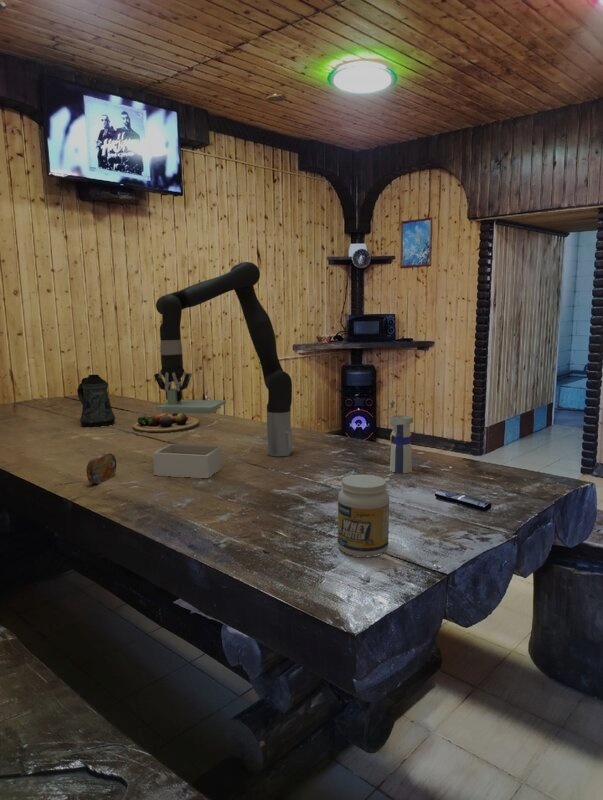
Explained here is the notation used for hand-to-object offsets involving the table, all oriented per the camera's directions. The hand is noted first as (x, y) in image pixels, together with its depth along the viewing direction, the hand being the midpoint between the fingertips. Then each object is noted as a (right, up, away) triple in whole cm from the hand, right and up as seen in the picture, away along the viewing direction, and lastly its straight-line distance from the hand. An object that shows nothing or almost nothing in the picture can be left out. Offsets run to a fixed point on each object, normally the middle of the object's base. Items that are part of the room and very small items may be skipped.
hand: (174, 401), depth 205 cm
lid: (+6, -3, -1) cm, 7 cm away
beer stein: (-58, -12, +83) cm, 102 cm away
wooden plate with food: (-21, -13, +78) cm, 81 cm away
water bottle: (+80, -25, -3) cm, 84 cm away
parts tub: (+6, -25, -1) cm, 26 cm away
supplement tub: (+60, -35, -67) cm, 97 cm away
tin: (-22, -27, -10) cm, 36 cm away
